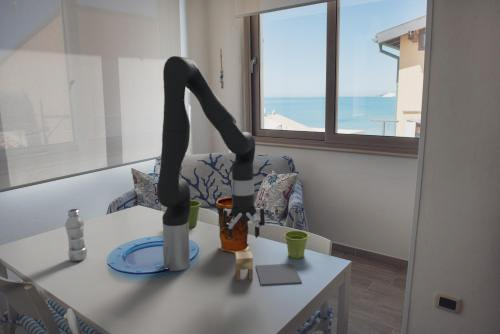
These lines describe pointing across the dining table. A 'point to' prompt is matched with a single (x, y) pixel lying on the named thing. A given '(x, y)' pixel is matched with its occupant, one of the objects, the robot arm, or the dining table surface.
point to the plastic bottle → (75, 236)
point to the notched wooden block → (244, 264)
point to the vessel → (238, 229)
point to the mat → (277, 274)
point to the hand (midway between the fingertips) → (244, 237)
